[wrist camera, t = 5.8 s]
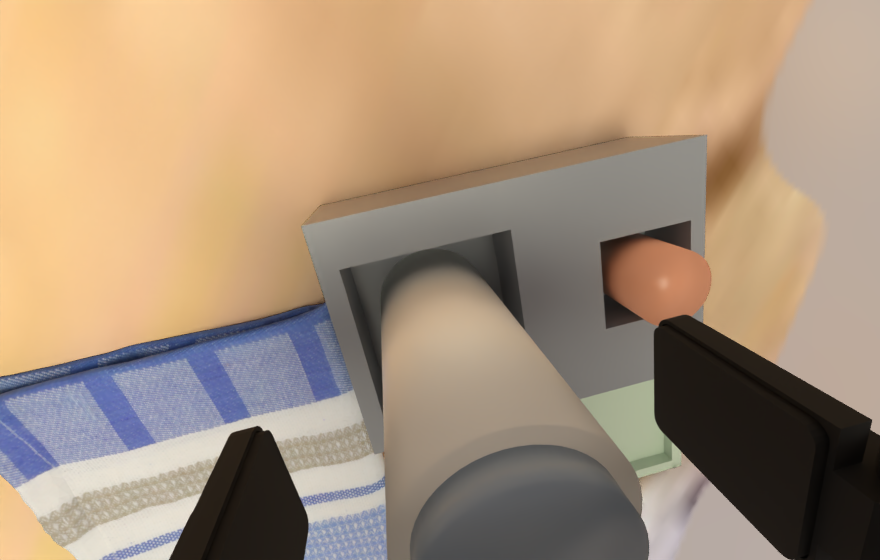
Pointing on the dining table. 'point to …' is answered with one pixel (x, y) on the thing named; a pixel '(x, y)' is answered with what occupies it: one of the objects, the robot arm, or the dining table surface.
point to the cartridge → (490, 433)
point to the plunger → (654, 277)
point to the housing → (519, 253)
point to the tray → (635, 427)
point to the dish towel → (192, 437)
